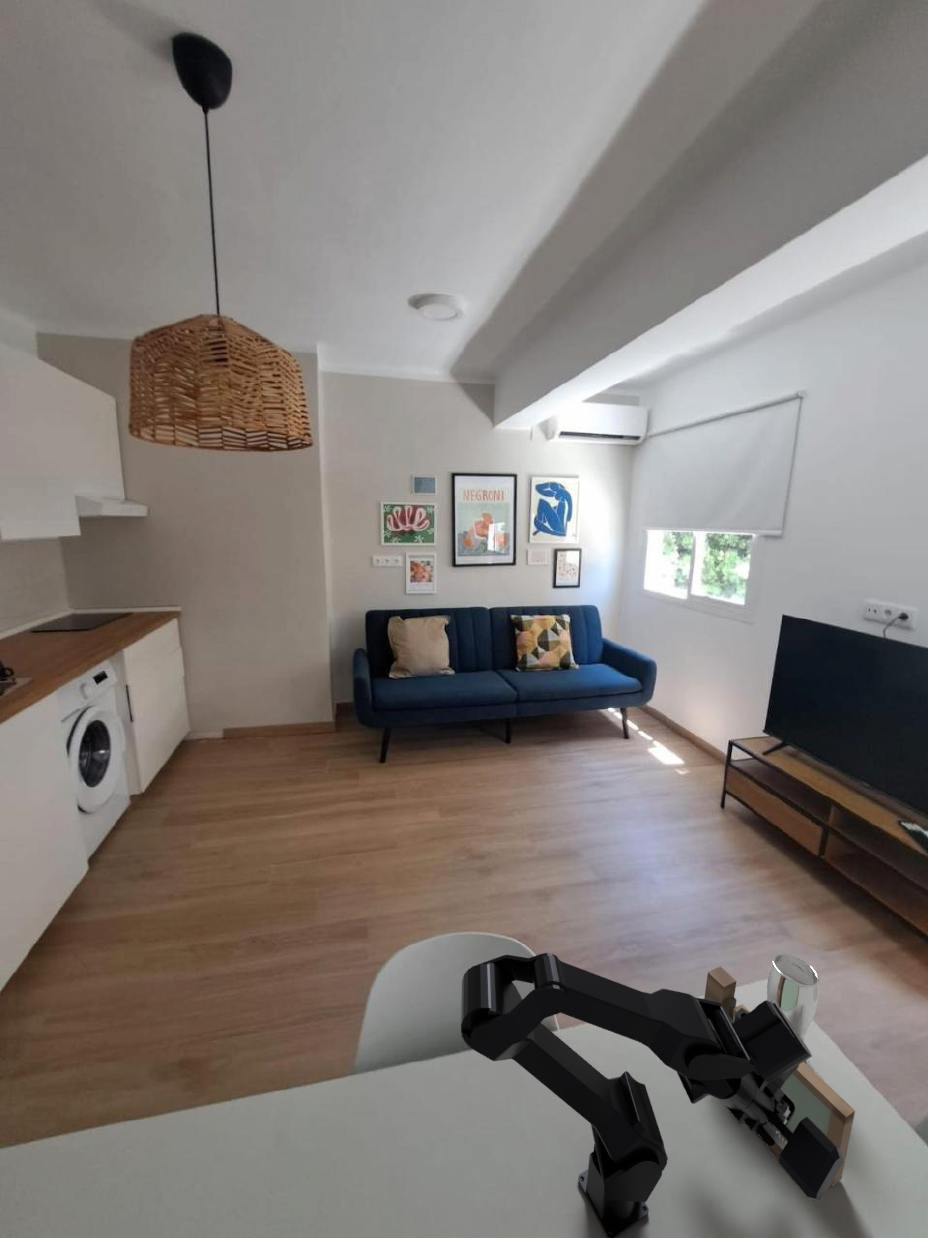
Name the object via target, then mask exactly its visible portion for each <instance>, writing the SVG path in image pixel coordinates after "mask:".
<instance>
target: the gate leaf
mask: <svg viewBox="0 0 928 1238" xmlns="http://www.w3.org/2000/svg"><path fill="white" fill-rule="evenodd" d="M740 1008H743V1009H745V1010H747V1011H748V1012H751V1011H750V1010H749V1009H748V1008H747V1007H746V1006H744V1004H743V1003H741V1004H740V1005H738V1006H736V1008H734V1009H733V1022H734V1019H735V1014H736V1012H737V1011H738V1010H739V1009H740ZM781 1090H782V1091H783V1092H784V1093H785V1094H786V1096H787V1097H788V1098H789V1099H790V1100H791V1101H792V1102H793V1103H794V1106H795V1112H794V1115H793V1117H792V1118H791V1120H790V1122H789V1123H788V1125H787V1127H788V1128H789V1129H790V1130H791V1131H792V1132H794V1130H795V1129H796V1127H797V1125H798V1124H799V1122H800V1121H801V1120H802V1119H804V1118H805V1117H808V1118H809V1119H810V1120H811V1121H812V1122H813V1123H814V1124H815V1125H816V1126H817V1127H818V1128H819V1129H820V1130H821V1131H822V1132H823V1133H824V1134H825V1135H826V1136H827V1137H828V1138H829V1139H830V1140H831V1141H832V1142H833V1143H834V1144H835V1145H836V1146H837V1147H838V1148H839V1149H840V1150H841V1152H842V1156H843V1159H844V1162H843V1164H842V1165H841V1167H840V1169H839V1171H838V1172H837V1174H836V1176H835V1178H834V1179H833V1181H832V1183H831V1184H830V1186H832V1187H834V1186H835V1185H836V1184H837V1183H839V1182H840V1181H841V1180H842V1178H843V1173H844V1169H845V1163H846V1158H847V1153H848V1149H849V1148H848V1147H849V1143H850V1138H851V1133H852V1128H853V1123H854V1119H855V1118H854V1117H855V1112H856V1110H855V1109H854V1107H852V1106H851V1105H850V1104H849V1103H848V1102H846V1100H845V1099H844V1098H842V1096H841V1095H840V1094H839V1093H838V1092H836V1091H835V1090H834V1089H833V1088H832V1087H831V1086H830V1085H829V1084H828V1083H827V1082H825V1081H824V1079H822V1078H821V1077H820V1076H819V1075H818V1074H817V1073H816V1072H815V1071H814V1070H813V1069H812V1068H811V1067H810V1066H809V1065H808V1064H806V1063H805V1061H804V1062H802V1063H801V1064H799V1067H798V1068H797V1069H796V1070H795V1071H794V1072H793V1073H792V1074H791V1075H790V1076H789V1078H788V1079H787V1080H786V1081H785V1082H784V1084H783V1086H782V1087H781Z"/></svg>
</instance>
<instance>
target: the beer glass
mask: <svg viewBox="0 0 928 1238" xmlns="http://www.w3.org/2000/svg"><path fill="white" fill-rule="evenodd" d="M766 984H767V985H766V998H767V999H766V1000H767V1001H769V1002H770V1001H771V1002H772V1003H775V1004H776V1005H777V1006H778V1007H779V1009H780V1010H781V1011H782V1012H783V1014H784V1015H785V1016H786V1018H787V1019H788V1020H789V1022H790V1023H791V1024H792V1026H793V1027H794V1029H795V1030H796V1031H797V1033H798V1034H799V1036H800V1037H801V1039H802V1040H803V1042H804V1043H805V1036H806V1033H807V1031H808V1029H809V1027H810V1025H811V1023H812V1021H813V1019H814V1016H815V1013H816V1010H817V1007H818V1001H819V1000H818V999H819V989H820V988H819V986H820V985H819V984H820V975H818V972H817V971H816V970H815V969H814V967H813V966H812V965H810V964H809V963H808V962H807V961H805V960H804V959H801V958H800V957H798V956H796V955H794V954H791V953H786V952H784V953H783V952H781V953H779V952H778V953H776V954H775V955H773V957H772V961H771V964H770V968H769V971H768V976H767V983H766Z"/></svg>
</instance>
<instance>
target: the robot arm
mask: <svg viewBox="0 0 928 1238" xmlns="http://www.w3.org/2000/svg"><path fill="white" fill-rule="evenodd" d="M514 981H517V982H523V983H529V984H533V990H531V991H530V992H528V994H527V995H526V996H525V997H524V998H523V997H522V995H521V994H520V993H519V990H518V988H517V986H516V985H515V983H514ZM460 1006H461V1007H460V1009H461V1010H460V1011H461V1012H460V1033H461V1038H462V1040H463V1042H464V1043H465V1044H466V1046H468V1047H469V1048H470V1049H471V1050H473V1051H475V1052H477V1053H478V1054H480V1055H481V1056H484V1058H487V1059H489V1060H491V1061H492V1062H499V1061H506V1060H513V1061H514V1062H515V1063H517V1064H518V1065H519V1066H520V1067H522V1069H524V1070H525V1071H526V1072H527V1073H529V1074H530V1075H531V1076H533V1078H535V1079H536V1080H537V1081H538V1082H540V1083H541V1084H542V1085H543V1086H545V1087H546V1088H547V1089H548V1090H550V1091H551V1092H552V1093H553V1094H554V1095H555V1096H556V1097H558V1098H559V1099H560V1100H561V1101H563V1102H564V1103H565V1104H566V1105H567V1106H569V1107H570V1108H571V1109H572V1110H573V1111H575V1112H576V1113H577V1114H578V1115H580V1116H581V1117H582V1118H583V1119H585V1120H586V1121H587V1122H588V1123H589V1124H590V1126H591V1132H592V1137H593V1142H594V1143H593V1144H594V1145H593V1151H592V1152H591V1153H589V1156H588V1168H587V1169H586V1170H584V1171H582V1172H580V1173H579V1175H578V1176H577V1177H578V1178H577V1179H578V1180H577V1182H578V1184H579V1186H580V1188H581V1190H582V1192H583V1194H584V1195H585V1197H586V1199H587V1201H588V1204H589V1205H590V1207H591V1209H592V1211H593V1213H594V1215H595V1217H596V1219H597V1221H598V1222H599V1224H600V1226H601V1228H602V1231H603V1232H604V1235H605V1236H606V1237H607V1238H619V1236H622V1235H623V1234H624V1233H626V1232H627V1231H629V1230H630V1229H631V1228H632V1227H634V1226H635V1225H637V1224H639V1222H641V1221H642V1220H644V1219H645V1218H647V1217H648V1215H649V1211H650V1210H649V1207H648V1205H647V1204H646V1203H647V1201H648V1200H649V1198H650V1197H651V1195H652V1193H653V1191H654V1189H655V1188H656V1186H657V1184H658V1183H659V1181H660V1179H661V1178H662V1176H663V1171H665V1169H666V1166H667V1164H668V1159H669V1157H668V1155H667V1151H666V1148H665V1143H664V1141H663V1137H662V1135H661V1131H660V1128H659V1124H658V1121H657V1119H656V1116H655V1112H654V1109H653V1106H652V1102H651V1100H650V1096H649V1092H648V1090H647V1086H646V1084H645V1083H643V1082H639V1081H637V1080H636V1079H635V1078H634V1077H633V1076H632V1075H631V1074H630V1072H628V1071H624V1072H623V1073H622V1074H621V1075H620V1076H617V1077H611V1078H608V1077H606V1076H605V1075H603V1074H602V1073H601V1072H600V1071H599V1070H598V1069H596V1068H595V1067H594V1066H593V1065H592V1064H590V1063H589V1062H588V1061H587V1060H586V1059H584V1057H582V1056H581V1055H580V1054H579V1053H577V1052H576V1051H575V1050H574V1049H573V1048H571V1047H570V1046H569V1044H567V1043H566V1042H565V1041H563V1040H562V1039H561V1038H560V1037H558V1036H557V1035H556V1034H555V1033H554V1032H553V1031H551V1030H550V1029H549V1028H548V1027H547V1026H545V1025H544V1023H542V1022H543V1020H544V1019H546V1018H549V1017H552V1016H556V1015H558V1014H562V1015H565V1016H568V1017H571V1018H573V1019H576V1020H579V1021H581V1022H584V1023H587V1024H590V1025H593V1026H596V1027H597V1028H601V1029H603V1030H606V1031H608V1032H611V1033H614V1034H616V1035H618V1036H621V1037H625V1038H628V1039H630V1040H633V1041H635V1042H638V1043H640V1044H642V1045H643V1046H646V1047H647V1048H648V1049H649V1050H650V1051H651V1052H652V1053H653V1054H654V1055H655V1056H656V1057H657V1058H658V1059H659V1060H660V1061H661V1062H662V1063H663V1064H664V1065H665V1066H667V1067H668V1068H670V1069H672V1070H673V1071H675V1072H676V1073H677V1076H678V1078H679V1080H680V1082H681V1084H682V1087H683V1089H684V1090H685V1093H686V1095H687V1098H688V1099H689V1102H690V1103H691V1104H692V1105H694V1104H697V1103H698V1102H700V1101H701V1100H703V1099H705V1098H706V1097H708V1096H710V1097H713V1098H714V1099H715V1100H717V1101H718V1102H719V1103H721V1104H722V1105H724V1106H725V1107H726V1108H727V1110H728V1112H730V1114H732V1115H733V1117H734V1118H735V1119H736V1120H737V1122H738V1123H740V1124H743V1123H745V1125H746V1126H747V1127H748V1128H749V1129H750V1130H751V1131H752V1132H753V1133H756V1134H757V1135H758V1136H759V1138H760V1139H761V1140H762V1141H763V1142H764V1143H765V1144H766V1146H770V1147H774V1146H775V1145H776V1143H777V1144H778V1145H779V1146H780V1147H781V1149H782V1152H781V1154H780V1158H778V1164H779V1165H780V1167H781V1168H782V1169H783V1170H784V1171H785V1172H786V1173H787V1175H788V1176H789V1177H790V1178H791V1180H792V1181H794V1183H795V1184H796V1185H797V1186H798V1188H799V1189H800V1190H801V1191H802V1192H803V1193H804V1194H805V1196H806V1197H807V1198H808V1199H811V1200H812V1201H816V1202H822V1200H823V1198H824V1196H825V1195H826V1193H827V1192H828V1190H829V1188H830V1186H831V1183H832V1181H833V1179H834V1178H835V1176H836V1174H837V1172H838V1171H839V1169H840V1167H841V1165H842V1164H843V1162H844V1159H843V1156H842V1152H841V1150H840V1149H839V1148H838V1147H837V1146H836V1145H835V1144H834V1143H833V1142H832V1141H831V1140H830V1139H829V1138H828V1137H827V1136H826V1135H825V1134H824V1133H823V1132H822V1131H821V1130H820V1129H819V1128H818V1127H817V1126H816V1125H815V1124H814V1123H813V1122H812V1121H811V1120H810V1119H809V1118H808V1117H805V1118H804V1119H802V1120H801V1121H800V1122H799V1124H798V1125H797V1127H796V1129H795V1130H794V1132H792V1131H791V1130H790V1129H789V1128H788V1127H787V1125H788V1123H789V1122H790V1120H791V1118H792V1117H793V1115H794V1112H795V1106H794V1103H793V1102H792V1101H791V1100H790V1099H789V1098H788V1097H787V1096H786V1094H785V1093H784V1092H783V1091H782V1090H781V1087H782V1086H783V1084H784V1082H785V1081H786V1080H787V1079H788V1078H789V1076H790V1075H791V1074H792V1073H793V1072H794V1071H795V1070H796V1069H797V1068H798V1067H799V1064H801V1063H802V1062H804V1063H805V1062H806V1061H807V1060H809V1059H810V1058H811V1057H813V1054H812V1053H811V1050H810V1049H809V1048H808V1046H807V1044H806V1043H805V1041H804V1042H803V1040H802V1039H801V1037H800V1036H799V1034H798V1033H797V1031H796V1030H795V1029H794V1027H793V1026H792V1024H791V1023H790V1022H789V1020H788V1019H787V1018H786V1016H785V1015H784V1014H783V1012H782V1011H781V1010H780V1009H779V1007H778V1006H777V1005H776V1004H775V1003H772V1002H771V1001H770V1002H769V1001H767V999H766V1000H764V1001H762V1002H760V1003H759V1004H758V1005H756V1007H754V1009H752V1010H751V1011H750V1012H748V1011H747V1010H745V1009H743V1008H740V1009H739V1010H738V1011H737V1012H736V1014H735V1019H734V1022H733V1021H732V1020H731V1018H730V1017H729V1016H728V1015H727V1013H726V1011H725V1009H724V1007H723V1006H722V1004H721V1003H718V1002H714V1001H709V1000H706V999H704V998H699V997H695V996H693V995H692V994H690V993H686V992H681V991H677V990H674V989H673V990H671V989H668V988H660V989H658V990H655V991H653V992H651V993H649V992H645V991H641V990H638V989H635V988H633V987H630V986H628V985H625V984H623V983H619V982H617V981H614V980H611V979H609V978H607V977H604V976H601V975H600V974H599V975H598V974H596V973H593V972H590V971H587V970H585V969H582V968H580V967H577V966H575V965H572V964H569V963H567V962H564V961H562V960H561V959H560V958H559V957H558V956H557V955H556V954H554V953H551V952H543V953H539V954H537V955H534V956H531V957H525V956H517V955H511V954H504V955H501V956H499V957H498V956H497V957H494V958H493V959H490V960H486V961H484V962H481V963H479V964H476V965H473V966H471V967H470V968H468V969H467V970H466V972H465V973H463V977H462V979H461V1005H460ZM781 1135H783V1136H784V1137H785V1138H786V1139H787V1140H788V1142H787V1141H786V1140H785V1141H783V1139H784V1138H783V1137H781ZM622 1233H623V1234H622Z"/></svg>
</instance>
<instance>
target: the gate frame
mask: <svg viewBox="0 0 928 1238" xmlns="http://www.w3.org/2000/svg"><path fill="white" fill-rule="evenodd" d="M705 983H706V984H705V991H704V997H703V999H706V1000H709V1001H714V1002H718V1003H721V1004H722V1006H723V1007H724V1009H725V1011H726V1013H727V1015H728V1016H729V1017H730V1018H731V1020H732V1021H733V1009H734V1008H736V1007H737V1001H738V1000H737V998H736V997H735V993H736V986H737V980H736V978H734V977H733V976H732V975H730V974H729V972H727V971H726V969H724V968H723V967H722V966H718V967H716V968H714V969H711V970H709V971H707V975H706V982H705ZM781 1137H783V1138H784V1139H783V1141H785V1140H786V1141H787V1142H788V1140H787V1139H786V1138H785V1137H784V1136H783V1135H781ZM767 1146H768V1145H767ZM768 1148H769V1149H770V1150H771V1152H773V1154H774V1155H775V1156H776V1157H777V1158H778V1159H779V1158H780V1154H781V1152H782V1149H781V1147H780V1146H779V1145H778V1144H777V1143H776V1145H775V1146H774V1147H770V1146H768Z"/></svg>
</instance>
